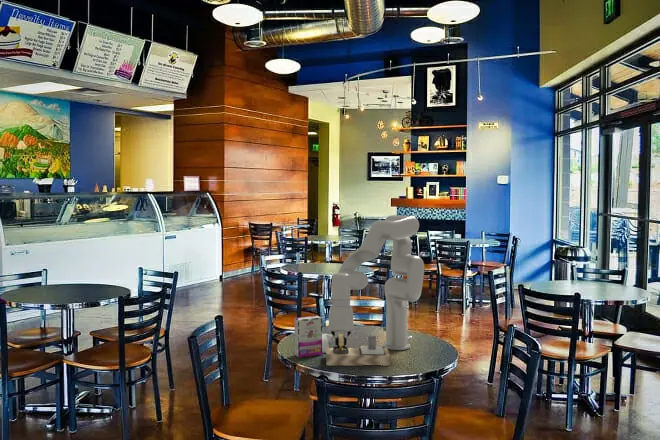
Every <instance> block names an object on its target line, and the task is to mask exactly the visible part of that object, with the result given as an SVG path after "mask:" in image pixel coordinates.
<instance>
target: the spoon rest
mask: <svg viewBox="0 0 660 440" xmlns="http://www.w3.org/2000/svg"><path fill="white" fill-rule="evenodd" d="M332 338H333V335H332V334H331V333H322V354H326V348H330V346H329V342H330V341H331V340H332Z"/></svg>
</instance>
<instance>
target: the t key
mask: <svg viewBox="0 0 660 440" xmlns="http://www.w3.org/2000/svg"><path fill="white" fill-rule="evenodd" d="M343 336H344V334H343V333H338V337H339V348H336V350H346V349H343V346H344V338H343Z"/></svg>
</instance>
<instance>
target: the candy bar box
mask: <svg viewBox="0 0 660 440" xmlns="http://www.w3.org/2000/svg"><path fill="white" fill-rule="evenodd" d="M322 334H323V317H321V316H319V315H313V316H304V317H294V356H296V357H297V359H299V358H300V359H301V358H308V357H317V356H322V355H323V353H322Z"/></svg>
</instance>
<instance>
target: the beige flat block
mask: <svg viewBox="0 0 660 440" xmlns="http://www.w3.org/2000/svg"><path fill="white" fill-rule="evenodd" d="M336 348H337V345H335V346H334V345H333V347H329V348H326V353H325V356H326V357H325V359H326V360H325V361H326V363H325V364H326V366H362V365H381V366H382V365H383V367H385V366H387V367H390V366H391V353H390V350H389V349H387V348H384V347H382V348H383V350H384V354H362V353H361V347H349V346H347V345H345V348H344V347H343V349H346V350H336ZM338 348H339V347H338Z"/></svg>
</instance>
